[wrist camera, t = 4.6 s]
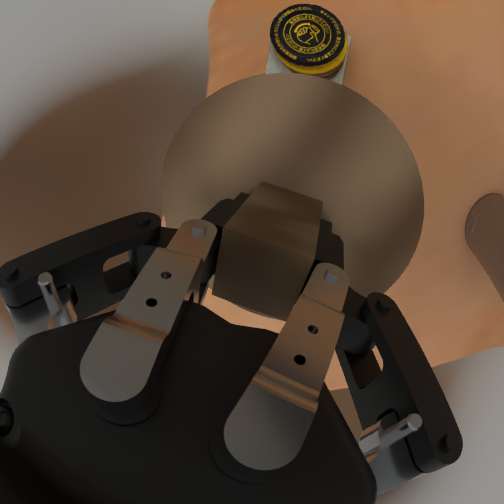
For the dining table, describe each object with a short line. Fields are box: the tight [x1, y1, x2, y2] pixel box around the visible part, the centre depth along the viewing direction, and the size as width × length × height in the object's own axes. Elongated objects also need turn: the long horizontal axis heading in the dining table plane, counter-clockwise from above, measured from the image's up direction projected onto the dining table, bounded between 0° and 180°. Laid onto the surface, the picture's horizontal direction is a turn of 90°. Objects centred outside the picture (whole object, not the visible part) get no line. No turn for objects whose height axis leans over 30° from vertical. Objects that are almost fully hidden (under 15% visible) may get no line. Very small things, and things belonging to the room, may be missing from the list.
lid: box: [161, 73, 424, 321], centre depth 12 cm, size 14×14×6 cm
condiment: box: [265, 4, 351, 85], centre depth 18 cm, size 7×8×12 cm
